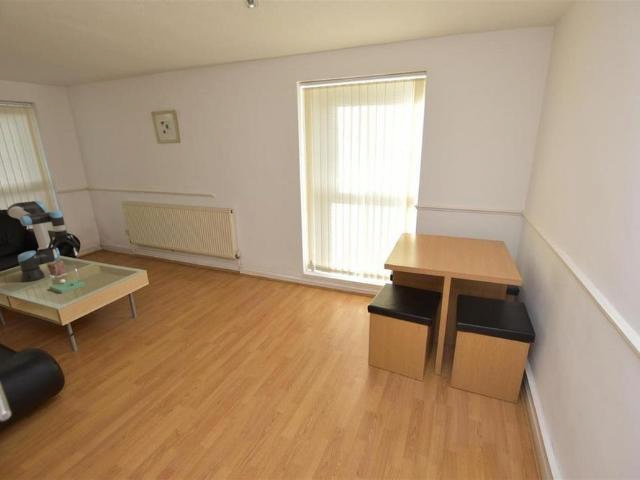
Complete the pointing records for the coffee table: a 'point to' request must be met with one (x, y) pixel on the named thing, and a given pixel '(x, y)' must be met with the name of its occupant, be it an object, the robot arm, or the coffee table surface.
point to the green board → (67, 286)
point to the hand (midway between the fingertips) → (66, 256)
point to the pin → (76, 272)
